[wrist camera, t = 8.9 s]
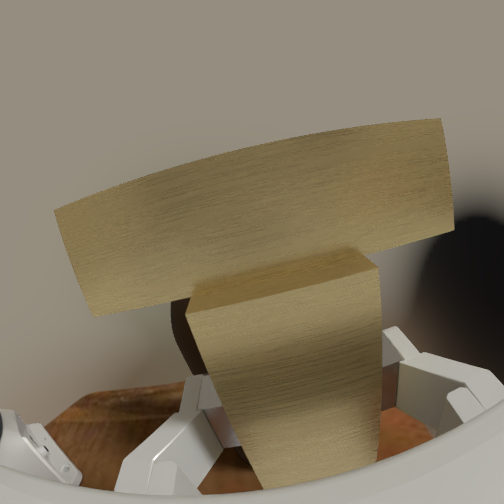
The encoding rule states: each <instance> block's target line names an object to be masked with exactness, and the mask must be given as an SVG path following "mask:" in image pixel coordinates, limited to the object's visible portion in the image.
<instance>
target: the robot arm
mask: <svg viewBox="0 0 504 504" xmlns="http://www.w3.org/2000/svg"><path fill="white" fill-rule="evenodd" d="M395 406H396V408H398V409H399V410H401V411H403V412H405V413H406V414H408V415H410V416H412V417H414V418H415V419H417V420H419V421H421V422H423V423H424V424H426V425H428V426H430V427H432V428H434V429H436V430H437V433H436V437H435V438H434V439H432V440H430V441H428V442H425V443H423V444H421V445H419V446H416V447H414V448H412V449H409V450H407V451H405V452H402V453H400V454H397V455H395V456H392V457H389V458H387V459H384V460H381V461H379V462H376V463H373V464H370V465H367V466H364V467H361V468H358V469H354V470H351V471H348V472H344V473H341V474H337V475H333V476H330V477H326V478H322V479H317V480H313V481H309V482H304V483H299V484H294V485H289V486H283V487H278V488H271V489H265V490H257V491H249V492H240V493H229V494H215V495H202V494H201V493H200V492H199V491H198V489H197V487H198V486H199V485H200V483H201V482H202V480H203V479H204V477H205V476H206V475H207V473H208V472H209V470H210V469H211V467H212V466H213V465H214V463H215V462H216V460H217V459H218V457H219V456H220V454H221V453H222V451H223V448H229V447H236V446H241V444H240V442H239V440H238V438H237V436H236V434H235V432H234V429H233V427H232V425H231V423H230V421H229V419H228V417H227V414H226V412H225V410H224V408H223V406H222V403H221V401H220V399H219V397H218V394H217V392H216V390H215V388H214V385H213V383H212V381H211V378H210V376H209V373H207V374H200V375H193V376H188V378H187V379H186V382H185V387H184V391H183V396H182V401H181V405H180V410H179V413H174V414H173V415H172V416H171V417H170V418H169V419H168V420H167V421H165V422H164V423H163V424H162V425H161V426H160V427H159V428H158V429H157V430H156V431H155V432H154V433H153V434H151V435H150V436H149V437H148V438H147V439H146V440H145V441H144V442H143V443H142V444H140V445H139V446H138V447H137V448H136V449H135V450H134V451H133V452H131V453H130V454H129V455H128V456H127V457H126V458H125V459H124V460H123V463H122V466H121V469H120V473H119V476H118V479H117V482H116V486H115V489H114V491H106V490H99V489H93V488H87V487H81V486H79V484H80V482H81V480H82V473H81V472H80V471H79V469H78V468H77V467H76V466H75V465H74V464H73V463H72V461H71V460H70V459H69V458H68V457H67V456H66V454H65V453H64V452H63V451H62V450H61V448H60V447H59V446H58V445H57V443H56V442H55V441H54V440H53V438H52V437H51V436H50V434H49V433H48V432H47V430H46V429H45V428H44V427H43V426H42V425H41V424H40V423H34V424H29V425H26V424H25V423H24V422H23V421H22V419H21V418H20V417H19V415H18V414H17V413H16V412H15V411H13V410H8V409H0V504H504V386H503V384H502V383H501V382H500V381H499V380H498V379H497V378H496V377H495V376H494V375H493V374H492V373H491V372H490V371H489V370H486V369H482V368H479V367H475V366H471V365H467V364H464V363H460V362H457V361H453V360H450V359H446V358H443V357H439V356H435V355H432V354H429V353H426V352H423V353H421V354H420V353H419V352H418V350H417V349H416V348H415V347H414V346H413V345H412V343H411V342H410V341H409V340H408V339H407V338H406V336H405V335H404V334H403V333H402V332H401V331H400V329H399V328H398V327H395V326H394V327H391V328H389V329H386V330H383V331H382V397H381V411H384V410H387V409H390V408H392V407H395Z"/></svg>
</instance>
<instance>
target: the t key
mask: <svg viewBox="0 0 504 504" xmlns="http://www.w3.org/2000/svg"><path fill="white" fill-rule="evenodd" d="M54 213H55V216H56V219H57V223H58V226H59V229H60V232H61V236H62V239H63V242H64V245H65V248H66V250H67V253H68V256H69V259H70V262H71V264H72V267H73V269H74V272H75V275H76V277H77V280H78V282H79V285H80V287H81V290H82V292H83V295H84V297H85V299H86V302H87V304H88V306H89V309H90V311H91V313H92V315H93V317H97V316H102V315H107V314H112V313H117V312H122V311H127V310H132V309H137V308H142V307H146V306H151V305H156V304H161V303H166V302H171V301H175V300H180V299H185V298H189V297H191V298H190V301H189V304H188V307H187V310H186V313H185V315H186V318H187V321H188V323H189V326H190V329H191V331H192V334H193V336H194V339H195V342H196V344H197V347H198V349H199V352H200V354H201V357H202V359H203V361H204V364H205V366H206V369H207V371H208V373H209V376H210V378H211V381H212V383H213V385H214V388H215V390H216V392H217V394H218V397H219V399H220V401H221V403H222V406H223V408H224V410H225V412H226V414H227V417H228V419H229V421H230V423H231V425H232V427H233V429H234V432H235V434H236V436H237V438H238V440H239V442H240V444H241V446H242V448H243V450H244V452H245V454H246V456H247V458H248V460H249V462H250V464H251V466H252V468H253V470H254V472H255V474H256V475H257V477H258V479H259V481H260V483H261V485H262V487H263V489H264V490H265V489H271V488H278V487H283V486H289V485H294V484H299V483H304V482H309V481H313V480H317V479H322V478H326V477H330V476H333V475H337V474H341V473H344V472H348V471H351V470H354V469H358V468H361V467H364V466H367V465H370V464H373V463H376V460H377V451H378V441H379V430H380V416H381V397H382V320H381V319H382V317H381V297H380V282H379V269H378V267H377V266H376V265H375V264H374V263H372V262H371V261H370V260H369V259H368V258H366V257H365V256H364V255H367V254H371V253H374V252H378V251H381V250H385V249H389V248H393V247H396V246H400V245H404V244H407V243H411V242H414V241H418V240H422V239H425V238H428V237H432V236H436V235H439V234H443V233H446V232H449V231H453V230H454V215H453V200H452V190H451V180H450V171H449V163H448V156H447V149H446V144H445V138H444V132H443V127H442V122H441V119H425V120H413V121H402V122H392V123H383V124H375V125H367V126H360V127H353V128H346V129H340V130H333V131H327V132H321V133H315V134H310V135H304V136H299V137H294V138H289V139H284V140H279V141H274V142H270V143H265V144H260V145H256V146H252V147H247V148H243V149H239V150H235V151H231V152H227V153H223V154H219V155H215V156H211V157H208V158H204V159H201V160H197V161H193V162H190V163H186V164H183V165H180V166H176V167H173V168H170V169H166V170H163V171H160V172H157V173H154V174H150V175H147V176H144V177H141V178H138V179H135V180H132V181H129V182H127V183H123V184H121V185H118V186H115V187H112V188H109V189H107V190H104V191H101V192H98V193H96V194H93V195H91V196H88V197H85V198H83V199H80V200H78V201H75V202H73V203H70V204H68V205H65V206H63V207H61V208H58V209H56V210H54Z"/></svg>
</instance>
